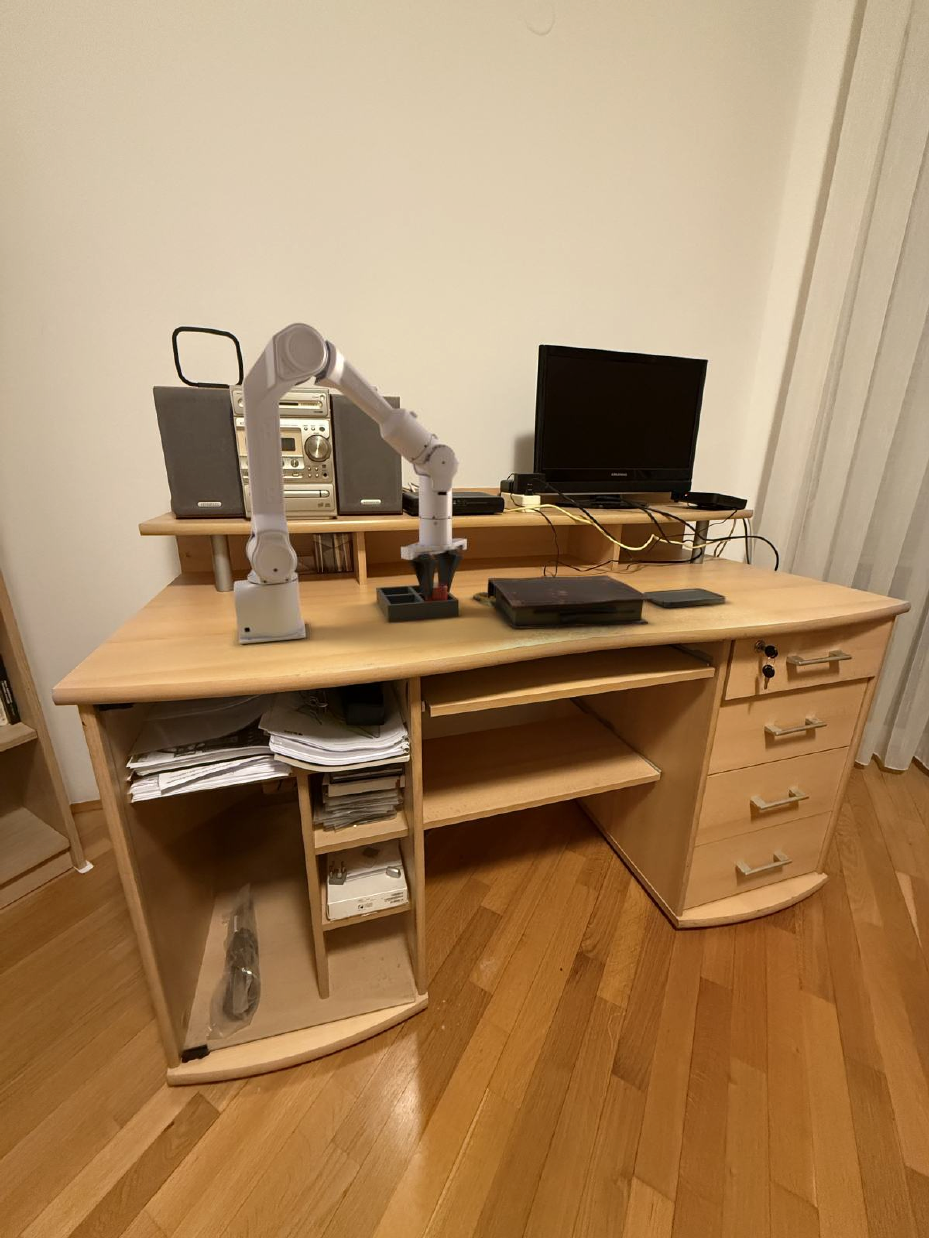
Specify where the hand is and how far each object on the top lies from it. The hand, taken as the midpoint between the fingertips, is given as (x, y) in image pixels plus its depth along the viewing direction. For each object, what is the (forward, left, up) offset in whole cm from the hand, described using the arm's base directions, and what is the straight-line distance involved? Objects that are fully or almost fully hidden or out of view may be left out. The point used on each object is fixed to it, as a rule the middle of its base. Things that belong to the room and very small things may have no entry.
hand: (435, 593), depth 89 cm
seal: (+16, +3, -4) cm, 17 cm away
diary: (+23, -6, -4) cm, 24 cm away
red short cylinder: (0, 0, -1) cm, 1 cm away
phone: (+51, -6, -4) cm, 52 cm away
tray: (-3, +3, -4) cm, 6 cm away
